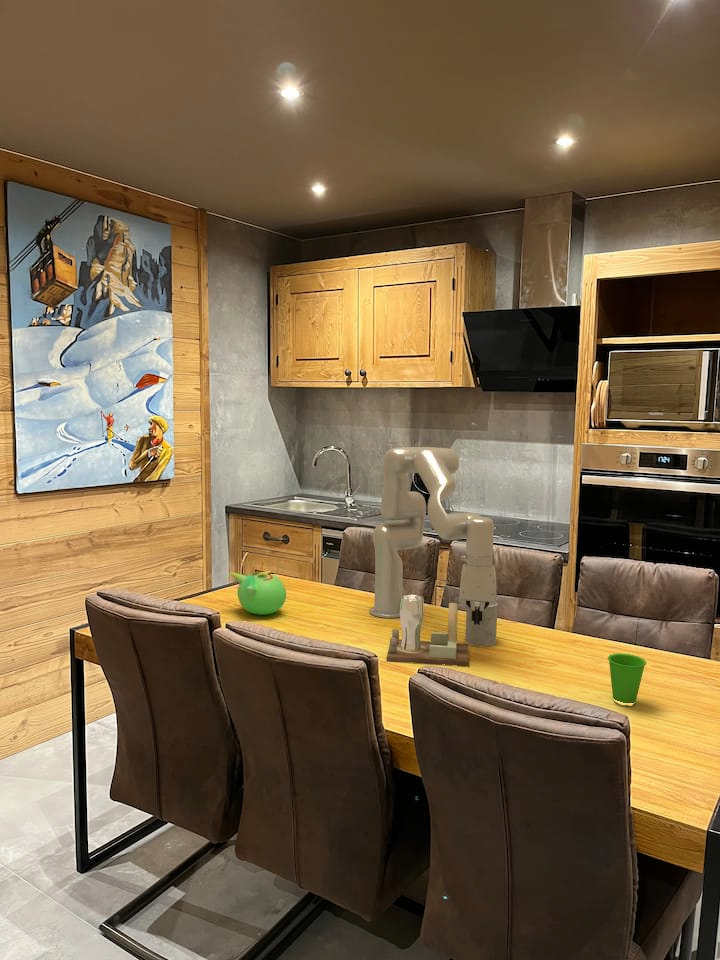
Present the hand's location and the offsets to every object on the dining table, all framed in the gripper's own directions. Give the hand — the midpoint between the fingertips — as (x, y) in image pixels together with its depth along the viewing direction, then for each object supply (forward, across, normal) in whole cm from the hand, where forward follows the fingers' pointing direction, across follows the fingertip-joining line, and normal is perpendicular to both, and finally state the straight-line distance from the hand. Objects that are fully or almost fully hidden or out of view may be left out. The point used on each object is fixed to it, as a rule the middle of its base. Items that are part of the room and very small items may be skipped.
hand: (476, 623), depth 209 cm
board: (+10, -14, 0) cm, 17 cm away
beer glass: (+9, -19, 0) cm, 21 cm away
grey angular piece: (+9, -9, 0) cm, 13 cm away
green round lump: (+10, -72, +30) cm, 79 cm away
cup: (+11, +36, -25) cm, 45 cm away
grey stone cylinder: (+10, +2, +15) cm, 18 cm away
